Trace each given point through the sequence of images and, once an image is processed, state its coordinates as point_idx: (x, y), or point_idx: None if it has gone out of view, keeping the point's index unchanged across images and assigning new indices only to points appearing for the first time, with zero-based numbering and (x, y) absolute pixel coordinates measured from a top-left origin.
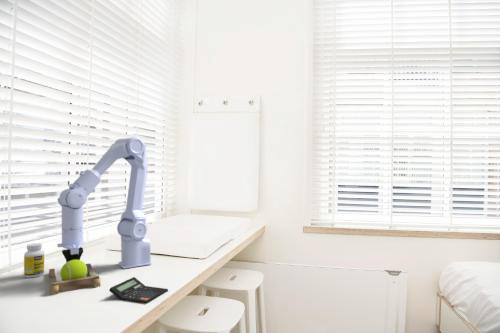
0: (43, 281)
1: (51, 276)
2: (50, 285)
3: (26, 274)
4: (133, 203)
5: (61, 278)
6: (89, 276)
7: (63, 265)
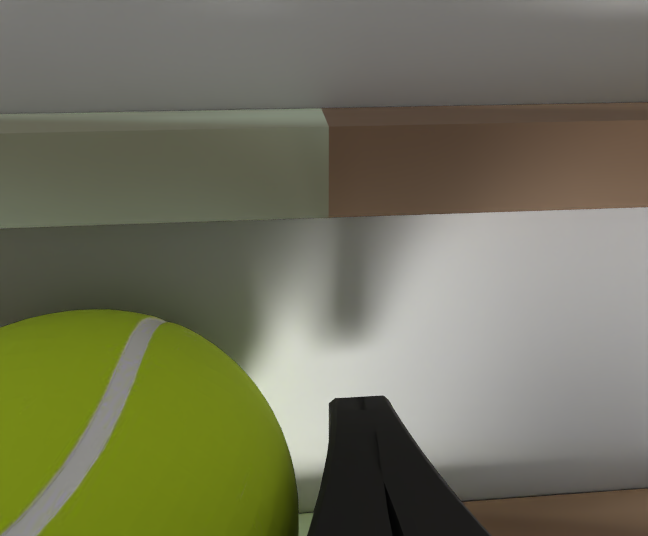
0: (527, 5)
1: (453, 149)
2: (144, 115)
3: None
4: None
5: (45, 316)
6: None
7: (53, 520)
